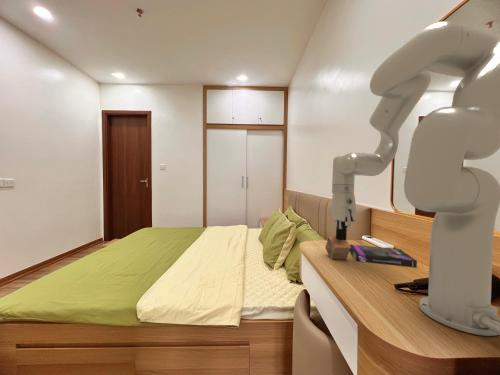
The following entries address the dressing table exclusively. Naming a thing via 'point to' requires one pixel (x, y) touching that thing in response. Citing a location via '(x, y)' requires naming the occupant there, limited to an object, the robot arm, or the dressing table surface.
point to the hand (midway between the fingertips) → (341, 239)
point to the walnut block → (337, 248)
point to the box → (382, 256)
